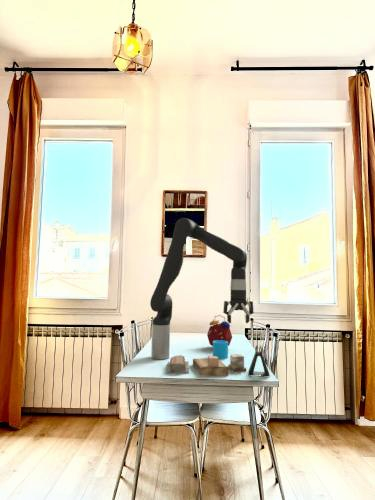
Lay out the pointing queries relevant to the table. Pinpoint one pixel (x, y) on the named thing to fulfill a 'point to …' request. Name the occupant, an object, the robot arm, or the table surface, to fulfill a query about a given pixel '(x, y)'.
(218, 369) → the dock
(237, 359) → the tan block
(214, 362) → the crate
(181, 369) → the packaged product
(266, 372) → the dark a-shaped stand
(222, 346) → the mug
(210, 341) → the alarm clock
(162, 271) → the robot arm
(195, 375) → the table surface
